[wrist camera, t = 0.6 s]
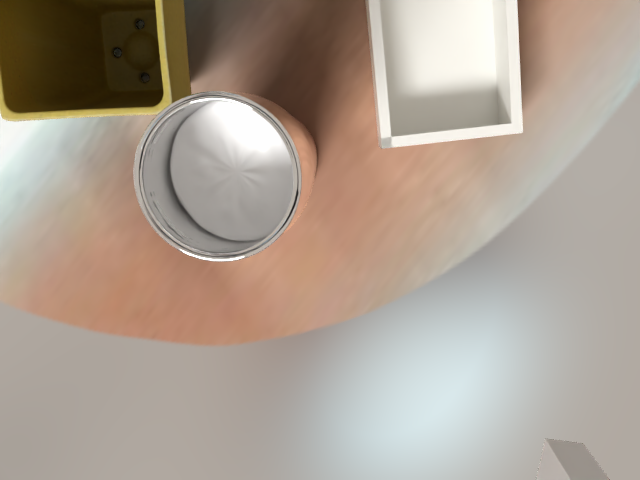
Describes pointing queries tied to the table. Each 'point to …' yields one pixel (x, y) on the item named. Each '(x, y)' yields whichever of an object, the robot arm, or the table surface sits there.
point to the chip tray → (444, 69)
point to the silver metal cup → (224, 174)
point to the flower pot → (91, 58)
